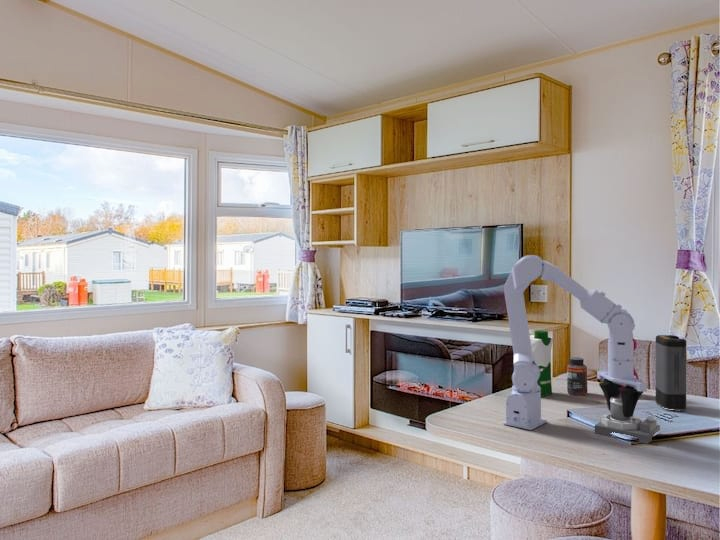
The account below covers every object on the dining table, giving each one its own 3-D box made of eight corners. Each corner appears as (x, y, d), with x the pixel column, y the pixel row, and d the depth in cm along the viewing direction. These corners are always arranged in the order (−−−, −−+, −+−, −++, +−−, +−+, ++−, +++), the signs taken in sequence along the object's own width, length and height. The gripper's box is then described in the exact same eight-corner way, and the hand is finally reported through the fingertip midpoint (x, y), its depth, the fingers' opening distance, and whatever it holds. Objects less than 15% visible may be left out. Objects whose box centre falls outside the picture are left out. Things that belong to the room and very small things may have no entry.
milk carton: (539, 398, 169) (539, 333, 169) (515, 392, 177) (514, 330, 176) (556, 393, 175) (556, 330, 174) (532, 388, 182) (531, 328, 181)
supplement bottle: (584, 391, 177) (584, 356, 177) (590, 396, 171) (589, 359, 171) (564, 391, 178) (564, 356, 177) (570, 396, 172) (569, 359, 172)
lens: (634, 424, 135) (634, 400, 135) (617, 425, 134) (618, 401, 134) (622, 418, 140) (622, 395, 139) (606, 420, 139) (606, 396, 138)
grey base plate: (647, 444, 128) (647, 425, 128) (594, 433, 136) (594, 415, 136) (660, 433, 135) (660, 415, 135) (609, 423, 144) (609, 407, 144)
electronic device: (688, 412, 153) (688, 340, 152) (664, 411, 154) (664, 339, 154) (676, 403, 162) (676, 335, 161) (654, 402, 163) (654, 334, 163)
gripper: (657, 363, 131) (657, 420, 131) (613, 353, 145) (613, 404, 145) (632, 365, 129) (632, 423, 129) (590, 354, 143) (590, 407, 143)
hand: (620, 413), depth 137 cm, fingers closed on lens, 4 cm apart
